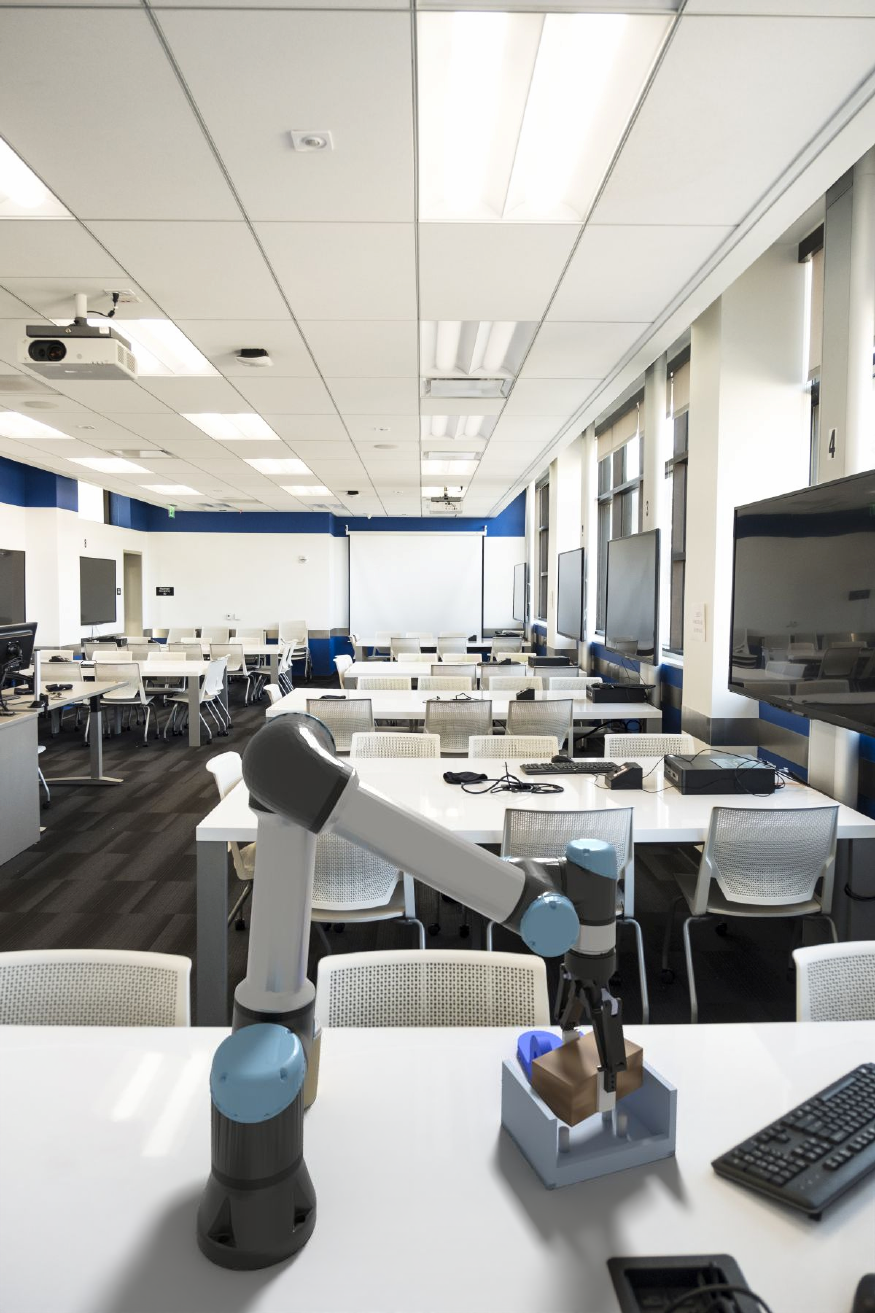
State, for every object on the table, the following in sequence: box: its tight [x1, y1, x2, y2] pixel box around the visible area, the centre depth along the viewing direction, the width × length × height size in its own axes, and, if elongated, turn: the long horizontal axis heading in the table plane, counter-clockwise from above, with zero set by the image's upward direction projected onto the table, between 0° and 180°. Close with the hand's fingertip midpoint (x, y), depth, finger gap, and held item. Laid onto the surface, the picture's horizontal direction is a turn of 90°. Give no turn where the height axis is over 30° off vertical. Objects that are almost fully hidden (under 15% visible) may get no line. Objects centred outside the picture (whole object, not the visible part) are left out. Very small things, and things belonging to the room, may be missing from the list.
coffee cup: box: [304, 1015, 323, 1109], centre depth 127 cm, size 9×9×12 cm
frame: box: [500, 1058, 678, 1191], centre depth 117 cm, size 21×15×10 cm
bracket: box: [516, 1030, 585, 1082], centre depth 136 cm, size 18×8×9 cm, turn 10°
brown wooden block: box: [530, 1030, 644, 1128], centre depth 117 cm, size 16×8×6 cm, turn 128°
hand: (587, 1090), depth 117 cm, fingers closed on brown wooden block, 9 cm apart
